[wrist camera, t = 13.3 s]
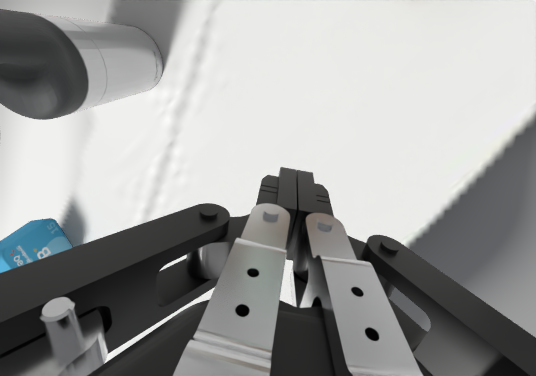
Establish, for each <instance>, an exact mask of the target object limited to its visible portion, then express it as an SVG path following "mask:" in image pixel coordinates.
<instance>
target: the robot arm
mask: <svg viewBox="0 0 536 376" xmlns="http://www.w3.org/2000/svg"><path fill="white" fill-rule="evenodd" d="M162 69H163V63H162V57H161V54H160V51H159V49H158V47H157V45H156V44H155V42H154V41H153V40H152V38H151V37H150V36H149V35H148V34H147V33H145V32H144V31H142V30H141V29H138V28H136V27H132V26H126V25H119V24H112V23H104V22H96V21H89V20H81V19H72V18H65V17H57V16H48V15H41V14H33V13H25V12H17V11H10V10H3V9H0V103H1V104H2V105H4V106H5V107H7V108H8V109H10V110H12V111H13V112H15V113H18V114H20V115H22V116H25V117H29V118H33V119H53V118H57V117H61V116H64V115H68V114H71V113H75V112H78V111H81V110H85V109H88V108H91V107H94V106H97V105H101V104H104V103H108V102H111V101H114V100H118V99H121V98H124V97H128V96H131V95H135V94H138V93H141V92H144V91H148V90H150V89H152V88H153V87H155V86H156V84H157V83H158V82H159V80H160V78H161V75H162ZM186 254H187V258H186V259H184V260H182V261H180V262H178V263H176V264H174V265H172V266H170V267H168V268H166V269H163V270H161V271H160V269H161V268H162V267H163V266H165V265H166V264H168V263H170V262H172V261H174V260H176V259H178V258H180V257H182V256H184V255H186ZM285 258H286V259H287V260H292V261H293V267H292V270H291V274H290V282H291V294H292V305H290V304H288V303H285V302H283V301H280V300H279V299H280V292H281V285H282V279H283V272H284V265H285ZM215 286H216V287H215ZM214 287H215V289H214V291H213V294H212V296H211V298H210V300H206V301H203V302H200V303H197V304H195V305H192V306H190V307H188V308H186V309H185V310H183V311H181V312H180V313H178V314H177V315H175V316H174V317H173V318H171V319H170V320H168V321H167V322H165V323H164V324H162V325H161V326H159V327H158V328H156V329H155V330H153V331H152V332H150V333H149V334H147V335H146V336H145V337H143V338H142V339H140V340H139V341H137V342H136V343H134V344H133V345H131V346H130V347H128V348H127V349H125V350H124V351H122V352H121V353H120V354H118V355H117V356H115V357H114V358H112V359H111V360H109V361H108V362H106V363H105V361H106V358H107V354H108V353H110V352H112V351H113V350H115V349H116V348H118V347H119V346H121V345H123V344H124V343H126V342H127V341H129V340H131V339H132V338H134V337H135V336H137V335H139V334H140V333H142V332H143V331H145V330H147V329H148V328H150V327H151V326H153V325H155V324H156V323H158V322H159V321H161V320H163V319H164V318H166V317H167V316H169V315H171V314H172V313H174V312H175V311H177V310H179V309H180V308H182V307H183V306H185V305H187V304H188V303H190V302H191V301H193V300H195V299H196V298H198V297H199V296H201V295H203V294H204V293H206V292H207V291H209V290H211V289H212V288H214ZM395 287H396V288H397V289H398V290H399V291H400V292H402V293H403V294H404V295H405V296H407V297H408V298H409V299H410V300H411V301H412V302H414V303H415V304H416V305H417V306H418V307H420V308H421V309H422V310H423V311H424V312H425V313H426V314H427V315H428V317H429V319H430V321H431V328H430V330H429V331H428V332H427V331H425V330H424V329H422V328H421V327H420V326H419V325H418V324H416V322H414V321H413V320H412V319H411V318H410V317H409V316H408V315H406V314H405V313H404V312H403V311H402V310H401V309H400V308H399V307H398V306H397V305H395V304H394V303H393V302H392V301H391V300H390V299H389V297H390V295H391V294H392V291H393V290H394V288H395ZM104 363H105V364H104ZM0 376H536V338H535V337H534V336H532V335H531V334H529V333H528V332H527V331H525V330H523V329H522V328H521V327H520V326H518V325H517V324H515V323H514V322H512V321H511V320H510V319H508V318H507V317H505V316H503V315H502V314H501V313H500V312H498V311H497V310H495V309H494V308H492V307H491V306H490V305H488V304H486V303H485V302H484V301H482V300H481V299H480V298H478V297H477V296H475V295H474V294H472V293H471V292H470V291H468V290H467V289H465V288H464V287H462V286H461V285H459V284H458V283H457V282H455V281H454V280H452V279H451V278H450V277H448V276H447V275H445V274H444V273H442V272H441V271H439V270H438V269H437V268H435V267H434V266H432V265H431V264H429V263H428V262H427V261H425V260H424V259H422V258H421V257H420V256H418V255H417V254H415V253H414V252H412V251H411V250H410V249H408V248H407V247H405V246H404V245H402V244H401V243H399V242H398V241H396V240H394V239H392V238H390V237H387V236H383V235H373V236H370V237H369V238H368V240H367V242H366V243H364V242H362V241H359V240H357V239H354V238H352V237H350V236H348V235H347V234H346V231H345V229H344V226H343V224H342V223H341V222H340V221H339V220H338V219H336V218H334V215H333V211H332V207H331V203H330V198H329V194H328V191H327V190H326V189H325V188H324V186H323V185H320V184H315V183H314V178H313V173H311V172H306V171H300V170H297V171H296V170H295V169H289V168H284V167H281V168H280V172H279V177H276V176H271V175H267V176H266V177H264V178H263V179H262V182H261V186H260V190H259V195H258V199H257V203H256V206H255V207H254V208H253V209H252V211H251V214H249V215H246V216H242V217H230V214H229V212H228V211H227V210H226V209H225V208H224V207H222V206H219V205H216V204H209V203H206V204H199V205H196V206H193V207H190V208H187V209H184V210H181V211H178V212H175V213H172V214H169V215H167V216H164V217H161V218H158V219H155V220H152V221H149V222H146V223H143V224H141V225H138V226H135V227H132V228H129V229H126V230H123V231H120V232H117V233H114V234H112V235H109V236H106V237H103V238H100V239H97V240H94V241H91V242H88V243H86V244H83V245H80V246H77V247H74V248H71V249H68V250H65V251H62V252H59V253H57V254H54V255H51V256H48V257H45V258H42V259H39V260H36V261H33V262H30V263H28V264H25V265H22V266H19V267H16V268H13V269H10V270H7V271H4V272H2V273H0Z"/></svg>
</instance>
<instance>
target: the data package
mask: <svg viewBox="0 0 536 376" xmlns="http://www.w3.org/2000/svg"><path fill="white" fill-rule="evenodd" d="M71 248H73V247H72V245H71V244H70V242H69V240H68V239H67V237H66V236H65V234H64V233H63V231H62V230H61V228H60V226H59V225H58V223H57V222H56V221H55V220H54V219H42V220H34V221H30V222H29V223H27V224H26V225H24V226H23V227H21V228H20V229H18V230H17V231H15V232H14V233H12V234H11V235H9V236H8V237H6V238H4V239H3V240H1V241H0V273H2V272H4V271H7V270H10V269H13V268H16V267H19V266H22V265H25V264H28V263H30V262H33V261H36V260H39V259H42V258H45V257H48V256H51V255H54V254H57V253H59V252H62V251H65V250H68V249H71Z"/></svg>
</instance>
